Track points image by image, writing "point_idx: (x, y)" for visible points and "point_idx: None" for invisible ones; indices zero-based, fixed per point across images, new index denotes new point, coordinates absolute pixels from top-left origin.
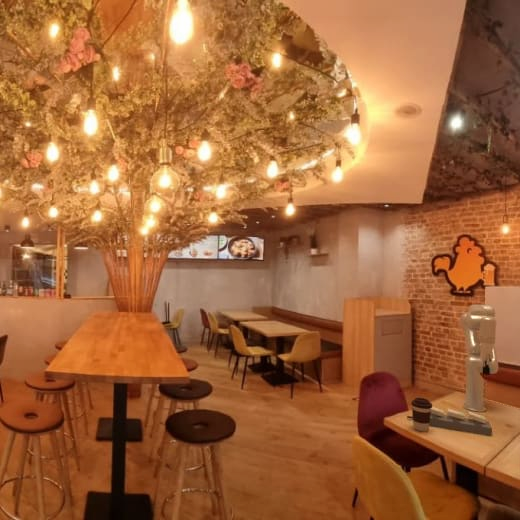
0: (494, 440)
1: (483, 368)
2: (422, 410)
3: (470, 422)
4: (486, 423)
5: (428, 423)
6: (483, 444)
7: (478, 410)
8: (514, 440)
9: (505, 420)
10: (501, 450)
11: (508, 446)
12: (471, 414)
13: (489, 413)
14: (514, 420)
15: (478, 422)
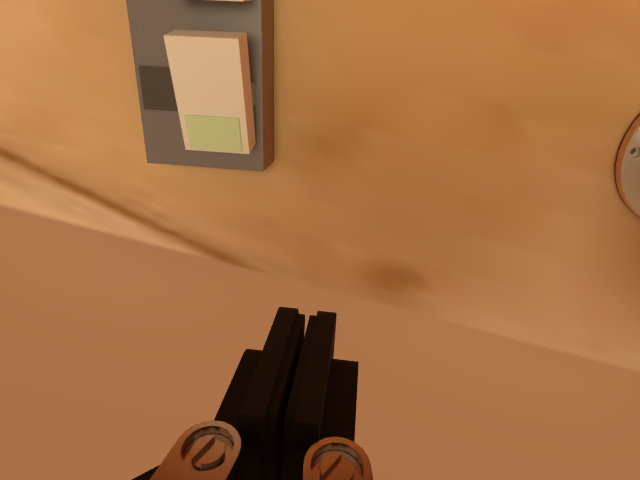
0: (117, 154)
1: (251, 387)
2: None
3: None
4: None
5: None
6: (22, 84)
7: (620, 170)
8: (177, 247)
9: (481, 287)
10: (5, 156)
11: (79, 200)
12: (171, 50)
13: (600, 232)
14: (498, 330)
15: None
